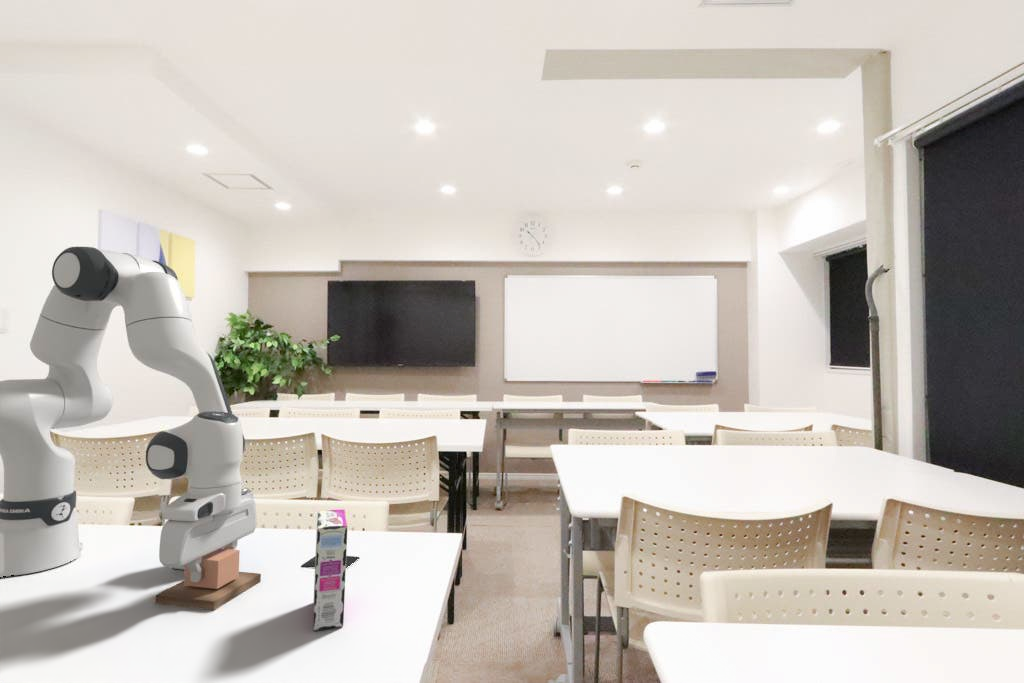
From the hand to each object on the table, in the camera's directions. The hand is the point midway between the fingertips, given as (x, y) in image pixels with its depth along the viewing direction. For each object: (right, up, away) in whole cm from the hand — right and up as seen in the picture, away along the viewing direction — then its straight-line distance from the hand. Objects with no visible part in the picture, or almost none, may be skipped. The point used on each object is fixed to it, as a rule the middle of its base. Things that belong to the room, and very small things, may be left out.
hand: (211, 573), depth 95 cm
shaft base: (0, -4, 0) cm, 4 cm away
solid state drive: (+17, -5, +15) cm, 23 cm away
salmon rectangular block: (0, -2, 0) cm, 2 cm away
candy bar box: (+25, -4, -8) cm, 26 cm away
